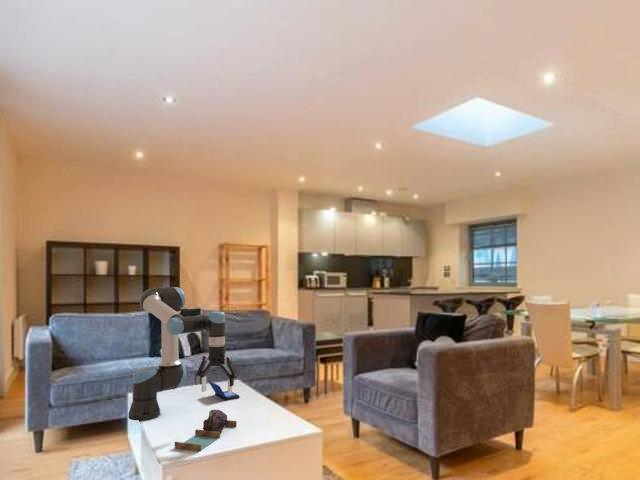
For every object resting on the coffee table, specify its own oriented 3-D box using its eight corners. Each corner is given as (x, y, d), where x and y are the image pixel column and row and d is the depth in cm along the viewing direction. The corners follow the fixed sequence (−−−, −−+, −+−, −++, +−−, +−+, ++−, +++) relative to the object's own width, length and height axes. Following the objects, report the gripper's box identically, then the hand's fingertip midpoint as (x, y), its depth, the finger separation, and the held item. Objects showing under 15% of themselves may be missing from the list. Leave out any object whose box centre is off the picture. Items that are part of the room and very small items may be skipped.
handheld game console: (240, 398, 259) (240, 382, 260) (218, 402, 251) (218, 385, 252) (229, 392, 272) (229, 377, 272) (208, 396, 264) (208, 380, 265)
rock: (210, 439, 198) (231, 434, 204) (211, 421, 198) (232, 415, 204) (200, 428, 208) (220, 423, 214) (201, 410, 207) (221, 405, 213)
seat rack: (174, 448, 186) (174, 442, 186) (214, 424, 215) (214, 418, 215) (199, 451, 182) (199, 445, 182) (236, 426, 211) (236, 421, 211)
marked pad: (177, 447, 187) (177, 446, 187) (194, 436, 199) (194, 435, 199) (201, 450, 184) (201, 449, 184) (217, 439, 196) (217, 438, 196)
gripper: (188, 345, 209) (188, 392, 207) (237, 347, 201) (237, 396, 199) (198, 343, 216) (197, 388, 214) (244, 345, 208) (245, 391, 206)
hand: (216, 392), depth 207 cm, fingers open, 13 cm apart
